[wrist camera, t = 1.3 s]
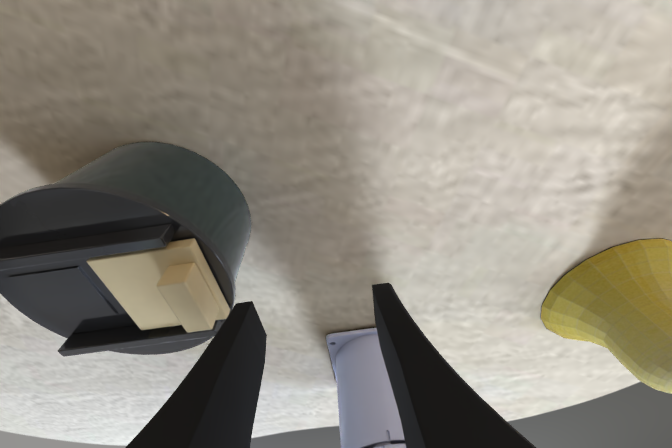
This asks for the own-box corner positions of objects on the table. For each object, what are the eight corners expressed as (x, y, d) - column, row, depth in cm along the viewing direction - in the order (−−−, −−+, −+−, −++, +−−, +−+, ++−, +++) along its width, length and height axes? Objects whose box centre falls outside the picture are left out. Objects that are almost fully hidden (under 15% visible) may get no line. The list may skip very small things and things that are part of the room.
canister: (225, 123, 16) (168, 180, 10) (272, 265, 22) (255, 358, 16) (40, 151, 16) (-129, 224, 10) (136, 284, 22) (66, 383, 16)
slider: (195, 237, 12) (178, 265, 11) (230, 309, 15) (221, 340, 13) (94, 252, 12) (63, 282, 11) (146, 320, 15) (127, 353, 13)
